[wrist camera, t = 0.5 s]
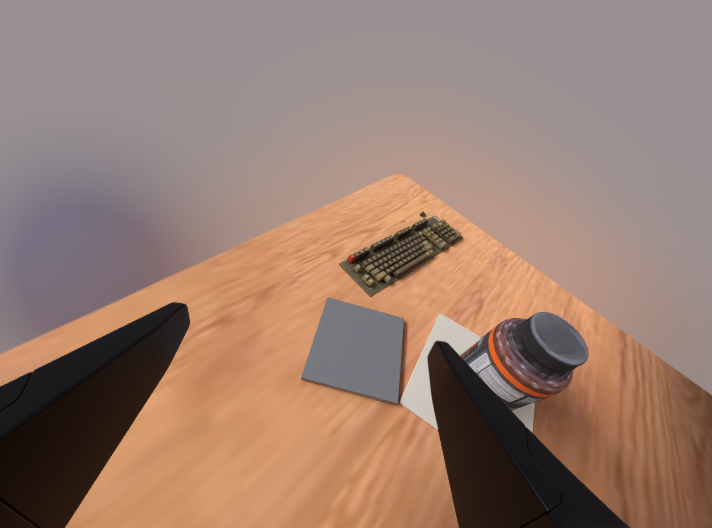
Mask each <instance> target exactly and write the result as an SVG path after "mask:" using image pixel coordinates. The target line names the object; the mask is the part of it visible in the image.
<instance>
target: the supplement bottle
mask: <svg viewBox="0 0 712 528" xmlns="http://www.w3.org/2000/svg"><path fill="white" fill-rule="evenodd" d="M460 356H461V357H462V358H463V359H464V361H465V362H466V363H467V364H468V365H469V366H470V367H471V368H472V369H473V370H474V371H475V372H476V373H477V374H478V375H479V377H480V378H481V379H482V380H483V381H484V382H485V383H486V384H487V385H488V386H489V387H490V388H491V389H492V390H493V391H494V393H495V394H496V395H497V396H498V397H499V398H500V399H501V400H502V401H503V402H504V403H505V404H506V405H507V406H508V407H509V409H510V410H511V411H512V410H515V409H518V408H521V407H523V406H526V405H529V404H531V403H534V402H537V401H539V400H542V399H545V398H548V397H550V396H552V395H555V394H557V393H560V392H561V391H563V390H564V389H565V388H567V387H568V385H569V384H570V382H571V380H572V373H573V371H572V370H573V369H575V368H576V367H578V366H580V365H582V364H584V363H585V362H586V361H587V359H588V348H587V346H586V343H585V341H584V339H583V338H582V336H581V335H580V334H579V332H578V331H577V330H576V329H575V328H574V327H573V326H572V325H571V324H569V323H568V322H567V321H565V320H564V319H562V318H561V317H559V316H557V315H555V314H552V313H548V312H539V313H536V314H534V315H533V316H531V317H530V318H528V319H526V320H525V319H520V318H511V319H507V320H505V321H503V322H501V323H500V324H498V325H497V326H496V327H495V328H494V329H492V330H491V331H490V332H488V333H487V334H486V335H485V336H483V337H482V338H481V339H480V340H479V341H478V342H476V343H475V344H474V345H473V346H471V347H470V348H469V349H468V350H466V351H465V352H464V353H462V354H461V355H460Z"/></svg>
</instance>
